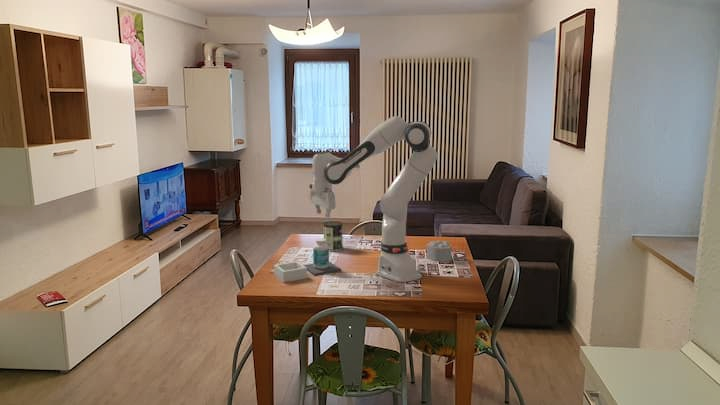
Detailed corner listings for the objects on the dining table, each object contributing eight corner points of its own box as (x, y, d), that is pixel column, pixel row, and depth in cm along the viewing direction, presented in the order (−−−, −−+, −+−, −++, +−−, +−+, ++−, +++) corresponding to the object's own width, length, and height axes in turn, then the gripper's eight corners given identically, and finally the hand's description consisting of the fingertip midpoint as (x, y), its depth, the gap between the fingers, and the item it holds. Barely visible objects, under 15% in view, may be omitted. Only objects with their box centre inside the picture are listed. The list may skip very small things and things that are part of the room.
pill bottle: (317, 270, 261) (316, 242, 258) (311, 266, 267) (310, 238, 264) (331, 268, 264) (331, 240, 261) (325, 263, 271) (324, 236, 268)
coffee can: (343, 246, 304) (342, 221, 301) (342, 251, 294) (342, 225, 291) (324, 246, 304) (323, 221, 302) (322, 251, 294) (322, 225, 291)
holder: (307, 278, 253) (306, 267, 252) (283, 282, 248) (283, 271, 247) (297, 271, 263) (297, 261, 262) (274, 275, 257) (274, 264, 256)
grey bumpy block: (440, 253, 289) (440, 237, 288) (456, 260, 278) (457, 243, 277) (424, 257, 284) (424, 240, 282) (440, 263, 273) (440, 246, 271)
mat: (341, 270, 263) (341, 268, 263) (314, 275, 257) (314, 273, 256) (328, 262, 275) (328, 260, 275) (302, 267, 269) (302, 265, 268)
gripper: (338, 189, 253) (339, 218, 256) (319, 182, 270) (320, 210, 273) (326, 190, 250) (327, 220, 253) (307, 184, 267) (308, 212, 270)
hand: (323, 215), depth 263 cm, fingers open, 8 cm apart
